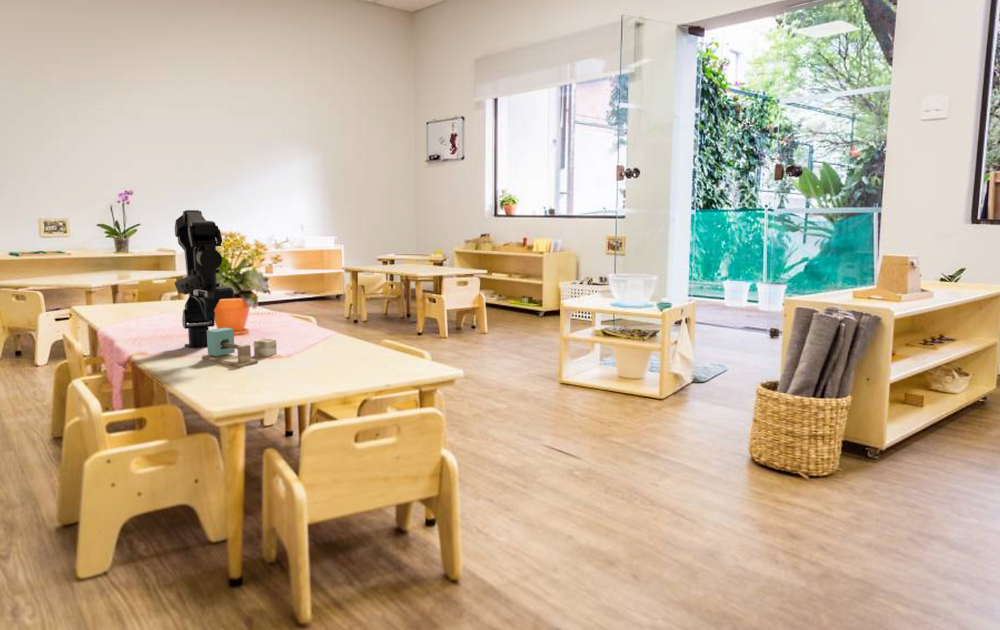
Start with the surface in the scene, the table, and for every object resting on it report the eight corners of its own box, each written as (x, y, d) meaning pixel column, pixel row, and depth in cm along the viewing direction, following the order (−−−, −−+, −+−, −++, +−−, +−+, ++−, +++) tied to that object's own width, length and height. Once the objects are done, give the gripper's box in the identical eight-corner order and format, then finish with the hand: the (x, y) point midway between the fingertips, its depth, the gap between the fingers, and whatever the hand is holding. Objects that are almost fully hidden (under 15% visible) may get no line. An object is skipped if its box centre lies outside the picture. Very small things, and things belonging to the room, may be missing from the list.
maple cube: (254, 355, 207) (253, 341, 206) (264, 352, 211) (263, 338, 210) (266, 357, 205) (266, 342, 205) (276, 354, 209) (276, 339, 209)
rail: (202, 357, 203) (201, 340, 202) (221, 354, 208) (220, 337, 207) (239, 366, 193) (238, 348, 192) (257, 363, 197) (257, 345, 197)
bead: (207, 354, 201) (206, 330, 200) (226, 350, 206) (225, 327, 205) (215, 356, 199) (214, 332, 198) (234, 352, 203) (233, 329, 202)
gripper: (160, 264, 198) (163, 318, 201) (197, 271, 187) (200, 328, 190) (197, 262, 207) (199, 313, 210) (233, 268, 196) (236, 322, 199)
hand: (207, 319), depth 202 cm, fingers closed
